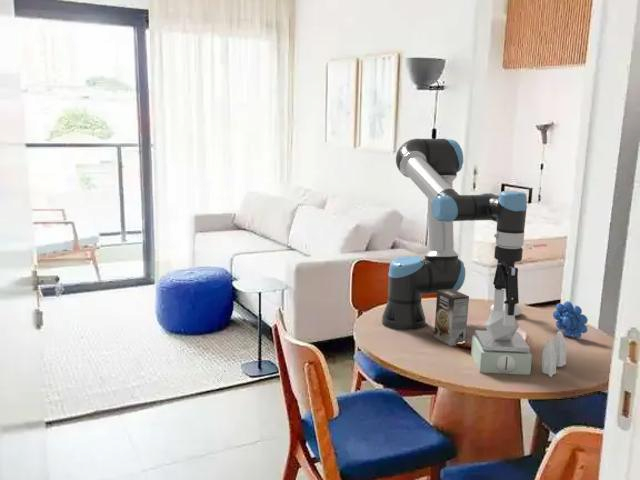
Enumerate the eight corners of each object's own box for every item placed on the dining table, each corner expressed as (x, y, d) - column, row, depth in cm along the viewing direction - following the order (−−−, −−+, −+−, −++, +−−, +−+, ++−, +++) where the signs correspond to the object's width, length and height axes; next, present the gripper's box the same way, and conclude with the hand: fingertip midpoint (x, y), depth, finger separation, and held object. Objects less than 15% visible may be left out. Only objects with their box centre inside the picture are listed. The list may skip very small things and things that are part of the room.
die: (511, 348, 167) (528, 318, 169) (484, 331, 168) (501, 301, 170) (501, 348, 176) (517, 319, 177) (475, 332, 176) (492, 303, 178)
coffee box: (433, 337, 196) (436, 289, 193) (449, 334, 199) (452, 288, 195) (449, 346, 188) (452, 297, 185) (466, 344, 190) (469, 295, 187)
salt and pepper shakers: (554, 361, 177) (558, 326, 175) (568, 365, 175) (572, 329, 173) (537, 372, 169) (541, 335, 167) (552, 377, 166) (555, 339, 164)
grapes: (545, 335, 200) (549, 300, 198) (554, 330, 205) (557, 297, 202) (580, 344, 192) (584, 308, 190) (588, 339, 197) (592, 304, 194)
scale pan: (474, 334, 180) (474, 330, 180) (518, 335, 179) (518, 332, 179) (482, 349, 168) (483, 345, 167) (529, 352, 167) (530, 348, 166)
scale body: (471, 353, 182) (472, 333, 181) (517, 355, 181) (519, 335, 180) (480, 373, 168) (481, 351, 166) (530, 375, 167) (532, 353, 165)
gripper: (486, 237, 180) (481, 304, 184) (505, 255, 156) (499, 331, 160) (511, 238, 180) (506, 305, 184) (534, 256, 155) (527, 333, 159)
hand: (503, 317), depth 172 cm, fingers open, 13 cm apart
